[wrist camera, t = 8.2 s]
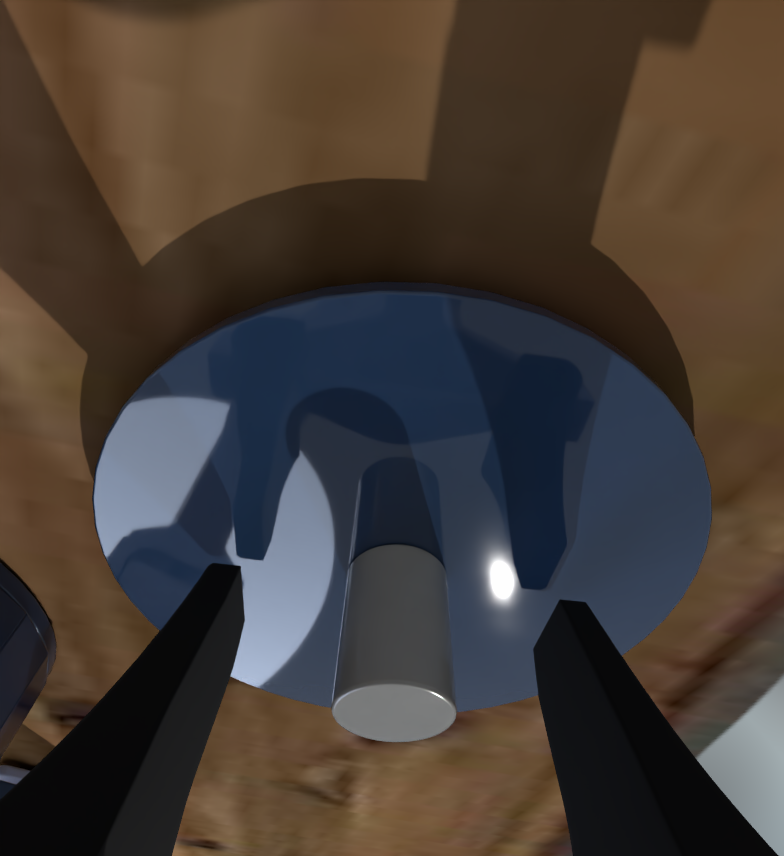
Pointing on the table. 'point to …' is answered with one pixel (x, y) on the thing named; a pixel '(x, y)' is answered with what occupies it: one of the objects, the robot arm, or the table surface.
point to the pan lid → (403, 495)
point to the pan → (21, 657)
